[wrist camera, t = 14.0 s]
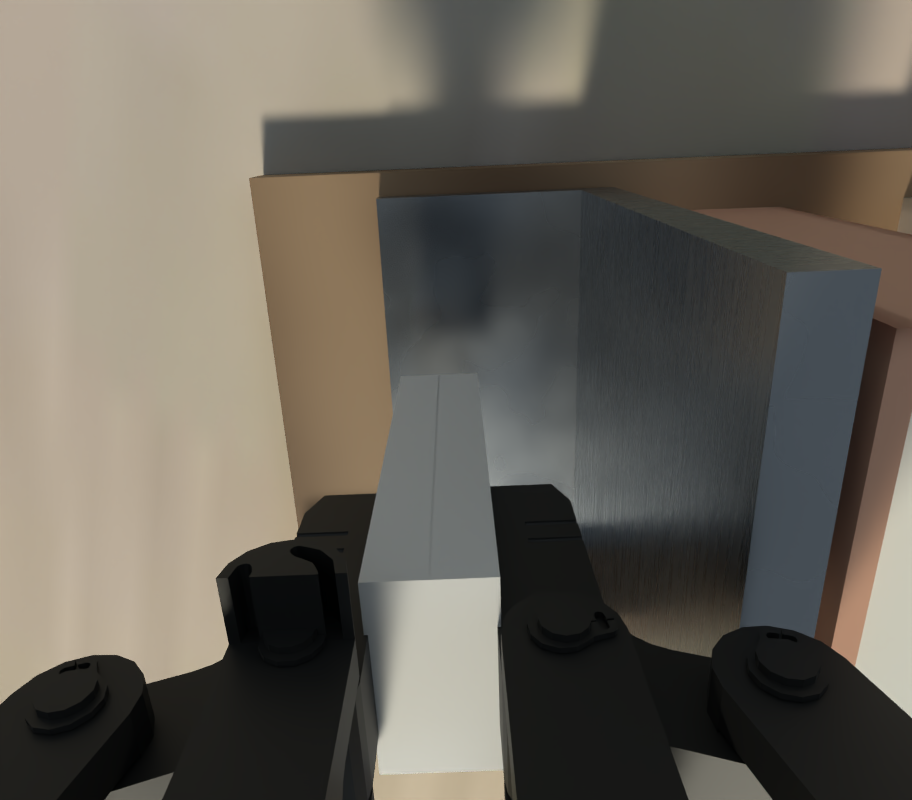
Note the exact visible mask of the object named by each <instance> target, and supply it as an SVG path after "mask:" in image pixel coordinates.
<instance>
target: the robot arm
mask: <svg viewBox="0 0 912 800" xmlns="http://www.w3.org/2000/svg"><path fill="white" fill-rule="evenodd" d="M216 582H217V587H218V592H219V597H220V602H221V607H222V612H223V617H224V622H225V627H226V632H227V637H228V642H229V646H228V648H227V651H226V653H225V655H224V657H223V659H222V660H221V661H219V662H217V663H215V664H213V665H210V666H207V667H204V668H202V669H199V670H196V671H193V672H190V673H186V674H182V675H179V676H175V677H171V678H167V679H164V680H160V681H156V682H153V683H149V684H146V682H145V678H144V674H143V673H142V672H141V670H140V669H139V667H138V666H137V665H136V663H135V662H134V661H131V660H129V659H126V658H123V657H120V656H118V655H92V656H88V657H84V658H80V659H76V660H72V661H68V662H64V663H62V664H60V665H58V666H56V667H54V668H52V669H50V670H48V671H45V672H43V673H41V674H39V675H37V676H36V677H34V678H33V679H32V680H30V681H29V682H27V683H26V684H25V685H23V686H22V687H21V688H19V689H18V690H17V691H15V692H14V693H13V694H11V695H10V696H9V697H8V698H7V699H6V700H5V701H4V702H3V703H2V704H1V705H0V800H374V793H373V778H374V770H375V761H376V753H377V757H378V765H379V774H380V775H389V774H416V773H443V772H470V771H497V770H503V771H504V789H505V800H912V718H911V717H910V716H909V715H908V714H907V713H906V712H905V711H904V710H903V709H901V708H900V707H899V706H898V705H897V704H896V703H895V702H894V701H893V700H891V699H890V698H889V697H888V696H887V695H886V694H885V693H884V692H883V691H881V690H880V689H879V688H878V687H877V686H876V685H875V684H874V683H873V682H871V681H870V680H869V679H868V678H867V677H866V676H865V675H864V674H863V673H861V672H860V671H859V670H858V669H857V668H856V667H855V666H854V665H853V664H851V663H850V662H849V661H848V660H847V659H846V658H845V657H843V656H842V655H840V654H839V653H837V652H836V651H835V650H833V649H832V648H830V647H829V646H827V645H826V644H824V643H823V642H822V641H819V640H817V639H814V638H812V637H809V636H807V635H804V634H802V633H799V632H797V631H794V630H789V629H784V628H778V627H772V626H767V625H766V626H752V627H741V628H739V629H736V630H734V631H732V632H729V633H727V634H725V635H723V636H722V637H721V638H720V640H719V641H718V642H717V644H716V645H715V646H714V647H713V649H712V656H711V657H706V656H701V655H696V654H691V653H686V652H680V651H675V650H671V649H667V648H664V647H660V646H656V645H653V644H650V643H648V642H646V641H644V640H642V639H639V638H637V637H635V636H634V635H632V634H631V633H629V630H628V628H627V626H626V625H625V623H624V622H623V620H622V619H621V617H620V616H619V614H618V613H617V612H616V611H615V610H613V609H612V608H610V607H609V606H607V605H606V604H605V603H604V602H603V599H602V596H601V593H600V590H599V587H598V584H597V581H596V578H595V575H594V572H593V568H592V565H591V562H590V559H589V556H588V553H587V550H586V547H585V544H584V541H583V540H582V535H581V532H580V529H579V526H578V523H577V519H576V516H575V513H574V510H573V507H572V504H571V501H570V499H568V498H567V497H566V496H565V495H564V494H563V493H561V492H560V491H559V490H558V489H557V488H556V487H554V486H553V485H552V484H534V485H510V486H490V481H489V472H488V463H487V454H486V445H485V436H484V427H483V418H482V409H481V401H480V392H479V383H478V374H477V373H468V374H444V375H421V376H401V378H400V383H399V388H398V392H397V397H396V402H395V407H394V412H393V416H392V421H391V426H390V431H389V436H388V440H387V445H386V450H385V455H384V460H383V465H382V469H381V474H380V479H379V484H378V489H377V493H373V494H348V495H325V496H324V497H322V498H321V499H320V500H319V501H318V502H317V503H316V504H315V505H313V506H312V507H311V508H310V509H309V510H308V511H307V512H306V513H305V514H304V516H303V519H302V522H301V524H300V527H299V529H298V532H297V537H295V540H288V541H281V542H275V543H270V544H267V545H264V546H261V547H258V548H256V549H253V550H250V551H247V552H246V553H244V554H243V555H241V556H240V557H238V558H236V559H235V560H233V561H232V562H230V563H228V565H227V566H226V567H225V568H224V569H223V570H222V572H221V573H220V574H219V575H218V576H217V578H216Z"/></svg>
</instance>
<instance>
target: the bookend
mask: <svg viewBox="0 0 912 800" xmlns="http://www.w3.org/2000/svg"><path fill="white" fill-rule="evenodd" d="M376 205H377V218H378V231H379V243H380V256H381V269H382V282H383V295H384V307H385V320H386V333H387V346H388V358H389V371H390V384H391V397H392V409H393V412H394V407H395V402H396V397H397V392H398V388H399V383H400V378H401V376H421V375H444V374H468V373H477V374H478V383H479V392H480V401H481V409H482V418H483V427H484V436H485V445H486V454H487V463H488V472H489V481H490V486H510V485H534V484H552V485H553V486H554V487H556V488H557V489H558V490H559V491H560V492H561V493H563V494H564V495H565V496H566V497H567V498H568V499H570V501H571V504H572V507H573V510H574V513H575V516H576V519H577V523H578V526H579V529H580V532H581V535H582V540H583V541H584V544H585V547H586V550H587V553H588V556H589V559H590V562H591V565H592V568H593V572H594V575H595V578H596V581H597V584H598V587H599V590H600V593H601V596H602V599H603V602H604V603H605V604H606V605H607V606H609V607H610V608H612V609H613V610H615V611H616V612H617V613H618V614H619V616H620V617H621V619H622V620H623V622H624V623H625V625H626V626H627V628H628V630H629V633H631V634H632V635H634V636H635V637H637V638H639V639H642V640H644V641H646V642H648V643H650V644H653V645H656V646H660V647H664V648H667V649H671V650H675V651H680V652H686V653H691V654H696V655H701V656H706V657H711V656H712V649H713V647H714V646H715V645H716V644H717V642H718V641H719V640H720V638H721V637H722V636H723V635H725V634H727V633H729V632H732V631H734V630H736V629H739V628H741V627H752V626H766V625H767V626H772V627H778V628H784V629H789V630H794V631H797V632H799V633H802V634H804V635H807V636H809V637H812V638H814V636H815V630H816V625H817V619H818V614H819V608H820V603H821V598H822V592H823V587H824V581H825V576H826V570H827V565H828V559H829V554H830V548H831V543H832V537H833V532H834V527H835V521H836V516H837V510H838V505H839V499H840V494H841V488H842V483H843V477H844V472H845V467H846V461H847V456H848V450H849V445H850V439H851V434H852V428H853V423H854V417H855V412H856V407H857V401H858V396H859V390H860V385H861V379H862V374H863V368H864V363H865V357H866V352H867V346H868V341H869V336H870V330H871V325H872V319H873V314H874V308H875V303H876V297H877V292H878V286H879V281H880V276H881V270H882V268H878V267H875V266H872V265H869V264H865V263H862V262H859V261H855V260H852V259H849V258H846V257H842V256H839V255H836V254H832V253H829V252H826V251H823V250H819V249H816V248H813V247H809V246H806V245H803V244H800V243H796V242H793V241H790V240H786V239H783V238H780V237H777V236H773V235H770V234H767V233H763V232H760V231H757V230H754V229H750V228H747V227H744V226H740V225H737V224H734V223H731V222H727V221H724V220H721V219H717V218H714V217H711V216H708V215H704V214H701V213H698V212H694V211H691V210H688V209H685V208H681V207H678V206H675V205H671V204H668V203H665V202H662V201H658V200H655V199H652V198H648V197H645V196H642V195H639V194H635V193H632V192H629V191H625V190H622V189H619V188H616V187H600V188H577V189H553V190H529V191H505V192H481V193H458V194H434V195H410V196H386V197H377V198H376Z"/></svg>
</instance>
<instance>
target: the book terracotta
mask: <svg viewBox="0 0 912 800" xmlns="http://www.w3.org/2000/svg"><path fill="white" fill-rule="evenodd" d="M691 211H694V212H698V213H701V214H704V215H708V216H711V217H714V218H717V219H721V220H724V221H727V222H731V223H734V224H737V225H740V226H744V227H747V228H750V229H754V230H757V231H760V232H763V233H767V234H770V235H773V236H777V237H780V238H783V239H786V240H790V241H793V242H796V243H800V244H803V245H806V246H809V247H813V248H816V249H819V250H823V251H826V252H829V253H832V254H836V255H839V256H842V257H846V258H849V259H852V260H855V261H859V262H862V263H865V264H869V265H872V266H875V267H878V268H882V270H881V276H880V281H879V286H878V292H877V297H876V303H875V308H874V314H873V319H872V325H871V330H870V336H869V341H868V346H867V352H866V357H865V363H864V368H863V374H862V379H861V385H860V390H859V396H858V401H857V407H856V412H855V417H854V423H853V428H852V434H851V439H850V445H849V450H848V456H847V461H846V467H845V472H844V477H843V483H842V488H841V494H840V499H839V505H838V510H837V516H836V521H835V527H834V532H833V537H832V543H831V548H830V554H829V559H828V565H827V570H826V576H825V581H824V587H823V592H822V598H821V603H820V608H819V614H818V619H817V625H816V630H815V636H814V639H817V640H819V641H822V642H823V643H824V644H826V645H827V646H829V647H830V648H832V649H833V650H835V651H836V652H837V653H839V654H840V655H842V656H843V657H845V658H846V659H847V660H848V661H849V662H850V663H851V664H853V665H854V666H855V667H856V668H857V669H858V670H859V671H860V672H861V673H863V674H864V675H865V676H866V677H867V678H868V679H869V680H870V681H871V682H873V683H874V684H875V685H876V686H877V687H878V688H879V689H880V690H881V691H883V692H884V693H885V694H886V695H887V696H888V697H889V698H890V699H891V700H893V701H894V702H895V703H896V704H897V705H898V706H899V707H900V708H901V709H903V710H904V711H905V712H906V713H907V714H908V715H909V716H910V717H911V718H912V235H911V234H906V233H902V232H897V231H892V230H888V229H883V228H878V227H873V226H869V225H864V224H859V223H854V222H850V221H845V220H840V219H836V218H831V217H826V216H821V215H817V214H812V213H807V212H803V211H798V210H793V209H788V208H784V207H760V208H731V209H702V210H691Z"/></svg>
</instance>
